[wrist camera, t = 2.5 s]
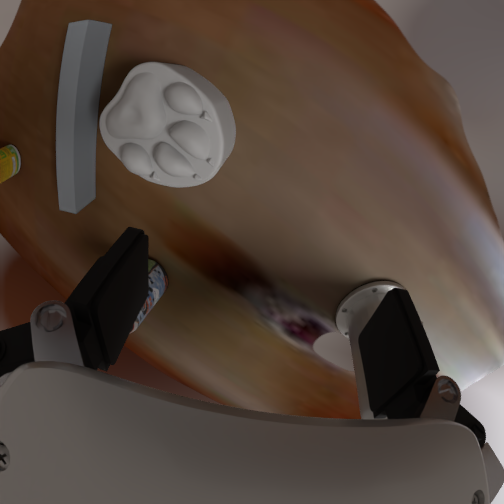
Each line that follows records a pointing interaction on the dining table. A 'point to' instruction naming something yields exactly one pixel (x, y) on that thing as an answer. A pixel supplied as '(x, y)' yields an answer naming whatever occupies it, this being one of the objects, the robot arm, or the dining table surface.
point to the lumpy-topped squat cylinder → (169, 125)
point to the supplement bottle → (9, 162)
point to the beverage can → (152, 290)
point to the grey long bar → (79, 112)
